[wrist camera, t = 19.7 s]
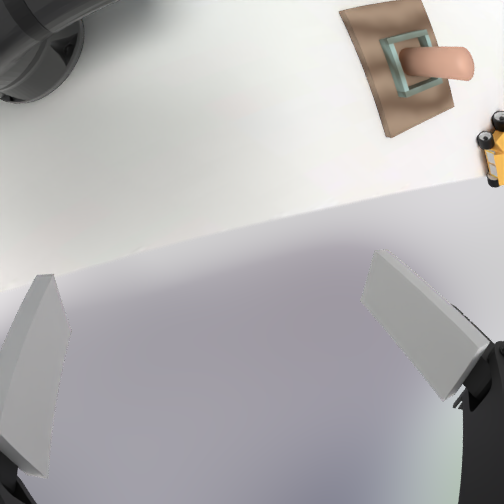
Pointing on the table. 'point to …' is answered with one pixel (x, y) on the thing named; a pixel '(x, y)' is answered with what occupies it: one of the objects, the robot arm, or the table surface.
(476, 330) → the robot arm
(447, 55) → the pink rounded cylinder
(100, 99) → the table surface
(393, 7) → the jig board
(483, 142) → the race car
